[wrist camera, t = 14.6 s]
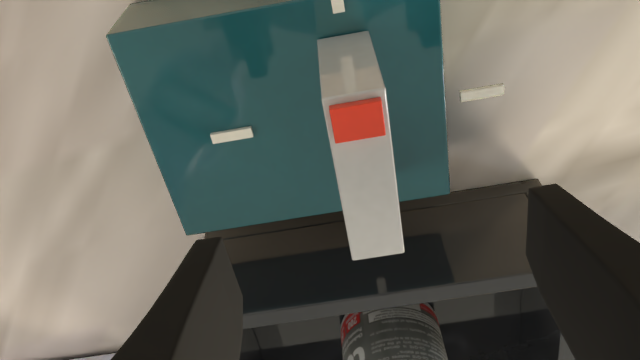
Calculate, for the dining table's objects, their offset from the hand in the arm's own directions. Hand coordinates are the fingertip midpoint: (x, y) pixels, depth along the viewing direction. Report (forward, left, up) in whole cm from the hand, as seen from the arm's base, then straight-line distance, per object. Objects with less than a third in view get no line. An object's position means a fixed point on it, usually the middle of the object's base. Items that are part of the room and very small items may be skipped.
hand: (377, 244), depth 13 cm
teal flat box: (-2, 0, -10) cm, 10 cm away
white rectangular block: (0, 0, -6) cm, 6 cm away
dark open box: (0, -13, -10) cm, 16 cm away
